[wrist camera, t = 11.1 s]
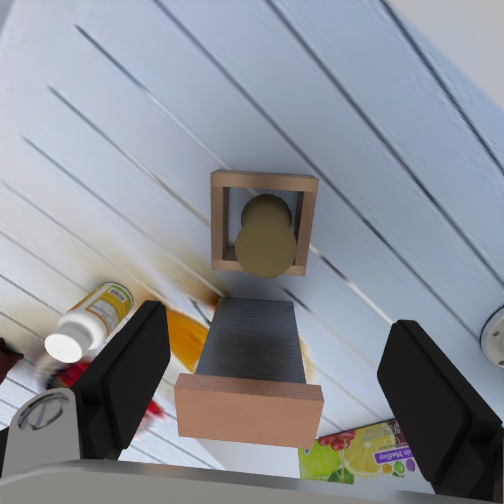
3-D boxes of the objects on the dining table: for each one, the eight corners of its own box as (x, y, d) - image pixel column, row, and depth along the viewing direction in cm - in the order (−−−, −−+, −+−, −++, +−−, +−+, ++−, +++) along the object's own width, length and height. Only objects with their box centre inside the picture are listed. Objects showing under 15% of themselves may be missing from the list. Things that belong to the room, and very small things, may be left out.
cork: (238, 196, 29) (222, 221, 18) (291, 191, 28) (304, 215, 18) (243, 244, 31) (232, 291, 21) (292, 241, 30) (305, 287, 20)
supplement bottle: (99, 312, 36) (44, 365, 27) (93, 280, 34) (31, 326, 25) (135, 315, 36) (92, 370, 27) (131, 283, 34) (82, 331, 25)
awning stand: (296, 277, 32) (324, 401, 16) (291, 309, 34) (312, 449, 18) (219, 271, 32) (173, 388, 17) (219, 304, 34) (178, 436, 18)
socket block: (311, 175, 27) (318, 179, 23) (300, 261, 31) (304, 276, 27) (218, 170, 28) (210, 173, 24) (218, 255, 32) (211, 269, 28)
